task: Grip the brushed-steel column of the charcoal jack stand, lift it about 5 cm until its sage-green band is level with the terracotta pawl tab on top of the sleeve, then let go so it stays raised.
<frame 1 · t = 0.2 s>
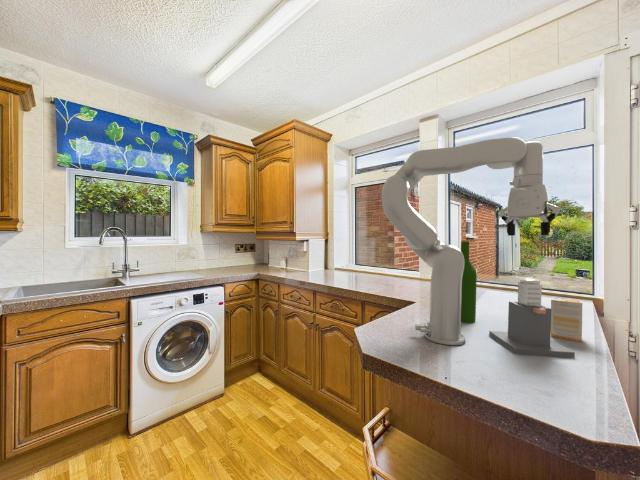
hand: (527, 235, 92), 35 cm above the countertop, tool pointing down, fingers open, 9 cm apart
stand: (527, 345, 91), on the countertop
wine bottle: (463, 320, 118), on the countertop
column: (528, 309, 91), point 11 cm above the countertop, slide at 0.0 cm
supplement box: (565, 337, 99), on the countertop
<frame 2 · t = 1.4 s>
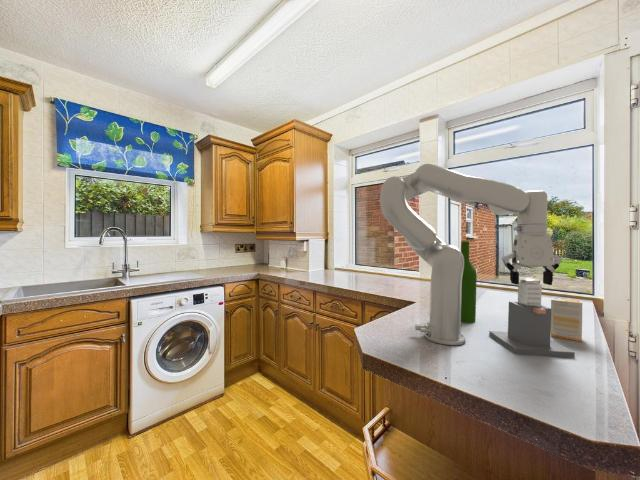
hand: (531, 284, 91), 20 cm above the countertop, tool pointing down, fingers open, 9 cm apart
nothing on the countertop moved.
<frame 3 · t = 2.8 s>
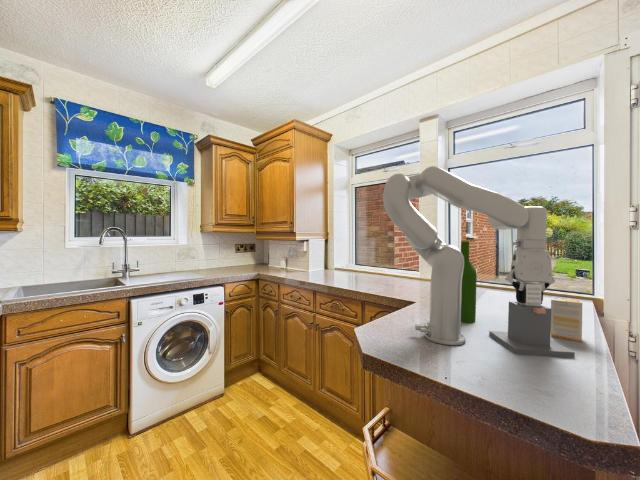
hand: (529, 302, 91), 14 cm above the countertop, tool pointing down, fingers closed on column, 4 cm apart
column: (528, 310, 91), point 11 cm above the countertop, slide at 0.0 cm, touching gripper
everything else where it was.
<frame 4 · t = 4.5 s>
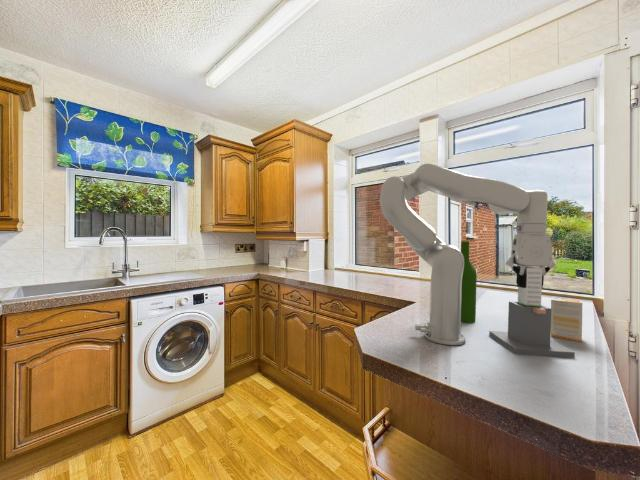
hand: (529, 286, 91), 19 cm above the countertop, tool pointing down, fingers closed on column, 4 cm apart
column: (529, 294, 91), point 16 cm above the countertop, slide at 5.0 cm, touching gripper
everything else where it was.
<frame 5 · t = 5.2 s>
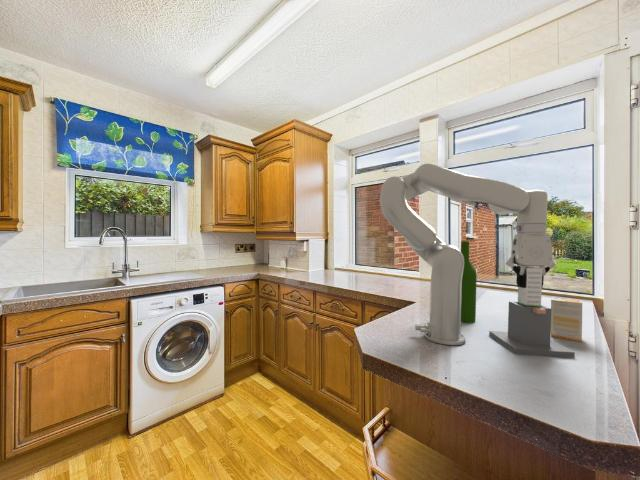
hand: (529, 286, 91), 19 cm above the countertop, tool pointing down, fingers closed on column, 4 cm apart
column: (529, 294, 91), point 16 cm above the countertop, slide at 5.0 cm, touching gripper
everything else where it was.
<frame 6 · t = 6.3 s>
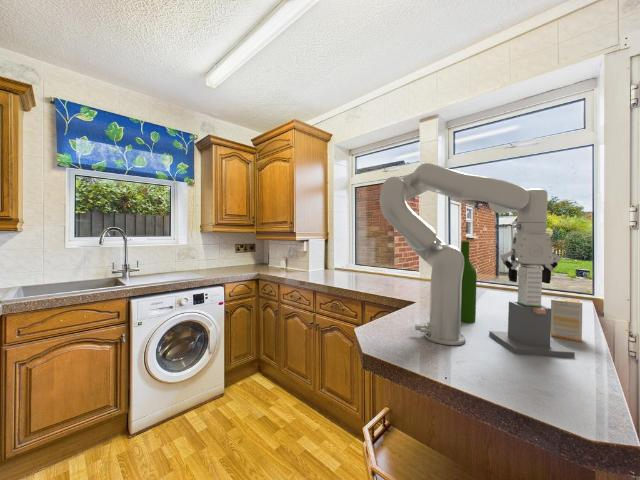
hand: (529, 282, 91), 20 cm above the countertop, tool pointing down, fingers open, 9 cm apart
column: (529, 294, 91), point 16 cm above the countertop, slide at 5.0 cm
everything else where it was.
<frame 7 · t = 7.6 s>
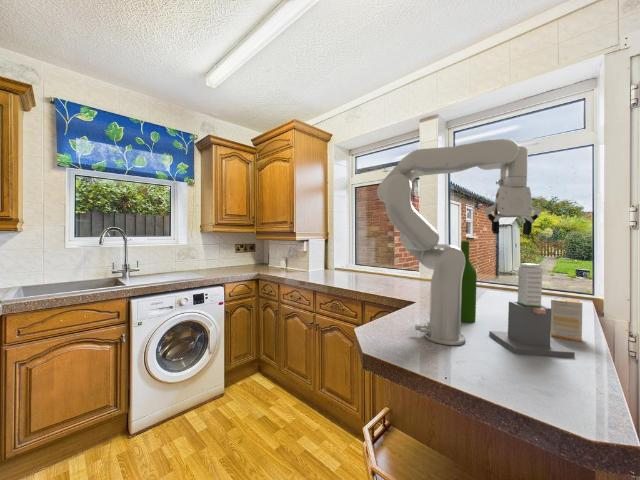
hand: (511, 234, 97), 36 cm above the countertop, tool pointing down, fingers open, 9 cm apart
nothing on the countertop moved.
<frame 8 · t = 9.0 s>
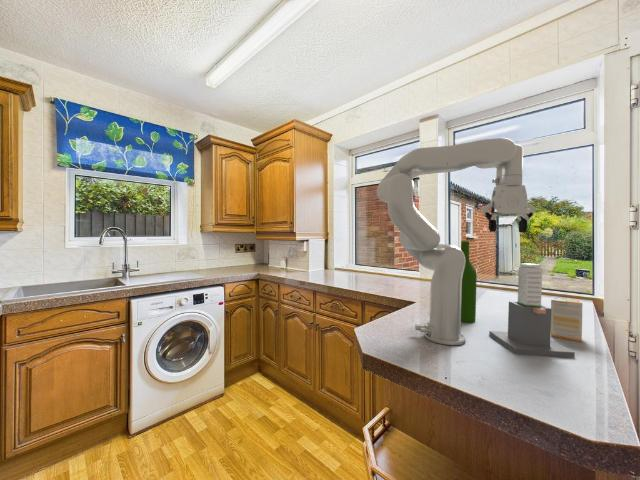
hand: (507, 231, 99), 36 cm above the countertop, tool pointing down, fingers open, 9 cm apart
nothing on the countertop moved.
at the end: column slide at 5.0 cm; the gripper is holding nothing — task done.
